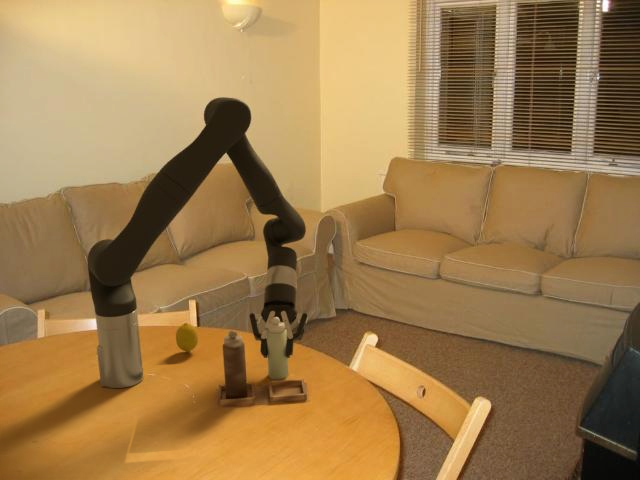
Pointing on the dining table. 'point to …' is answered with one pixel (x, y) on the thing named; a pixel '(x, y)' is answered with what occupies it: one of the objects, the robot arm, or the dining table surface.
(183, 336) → the lemon
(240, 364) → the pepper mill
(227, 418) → the dining table surface
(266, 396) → the cruet stand
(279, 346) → the salt mill
